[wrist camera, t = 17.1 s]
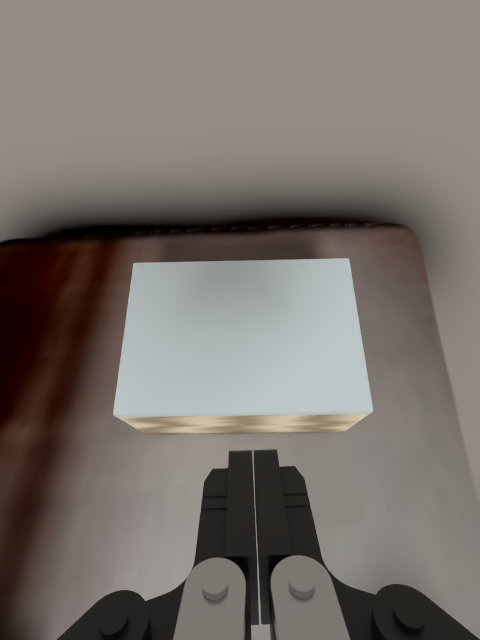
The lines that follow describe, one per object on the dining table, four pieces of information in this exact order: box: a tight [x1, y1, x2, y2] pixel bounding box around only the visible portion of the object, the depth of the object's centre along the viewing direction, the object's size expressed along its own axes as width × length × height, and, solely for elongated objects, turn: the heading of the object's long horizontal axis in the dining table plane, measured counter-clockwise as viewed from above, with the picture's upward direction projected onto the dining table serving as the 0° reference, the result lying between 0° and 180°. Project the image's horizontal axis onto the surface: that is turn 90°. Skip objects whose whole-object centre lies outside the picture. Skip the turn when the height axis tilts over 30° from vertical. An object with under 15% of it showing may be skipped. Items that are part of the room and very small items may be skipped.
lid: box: [113, 258, 373, 417], centre depth 32 cm, size 20×14×1 cm
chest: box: [118, 414, 369, 435], centre depth 37 cm, size 20×14×9 cm
